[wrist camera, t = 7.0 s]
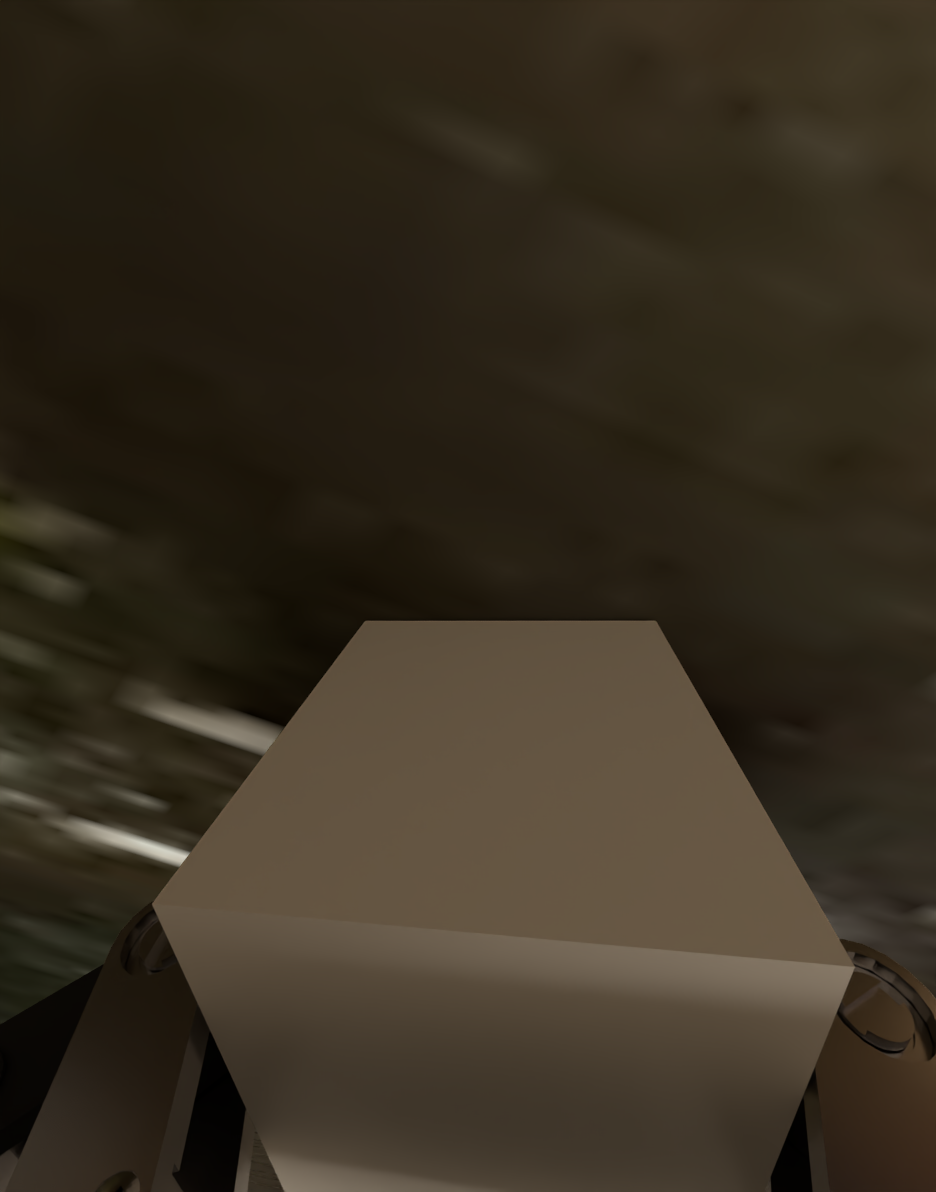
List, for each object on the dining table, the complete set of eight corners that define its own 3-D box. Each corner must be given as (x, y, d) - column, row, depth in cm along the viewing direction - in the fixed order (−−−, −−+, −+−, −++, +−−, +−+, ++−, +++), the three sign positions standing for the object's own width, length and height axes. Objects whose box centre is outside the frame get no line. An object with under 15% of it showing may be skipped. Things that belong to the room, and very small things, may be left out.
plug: (364, 620, 10) (152, 903, 4) (655, 620, 9) (854, 966, 3) (443, 1124, 18) (404, 1451, 12) (601, 1147, 17) (636, 1508, 11)
